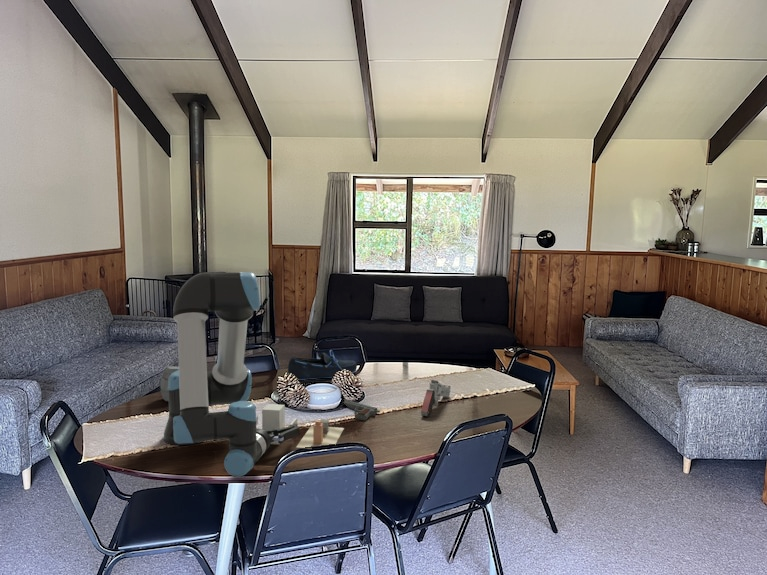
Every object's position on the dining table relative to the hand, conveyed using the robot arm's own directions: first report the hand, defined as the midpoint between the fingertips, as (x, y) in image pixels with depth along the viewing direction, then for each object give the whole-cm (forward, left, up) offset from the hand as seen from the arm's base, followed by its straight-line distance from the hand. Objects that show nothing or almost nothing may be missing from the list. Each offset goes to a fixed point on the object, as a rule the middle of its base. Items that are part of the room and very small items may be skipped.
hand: (276, 420), depth 193 cm
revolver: (-3, +70, -8) cm, 70 cm away
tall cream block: (+2, -2, -7) cm, 8 cm away
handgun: (-13, +38, -8) cm, 41 cm away
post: (+11, +10, -6) cm, 16 cm away
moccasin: (-67, +50, -7) cm, 84 cm away
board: (+7, +13, -7) cm, 17 cm away
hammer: (-64, -4, -7) cm, 65 cm away
